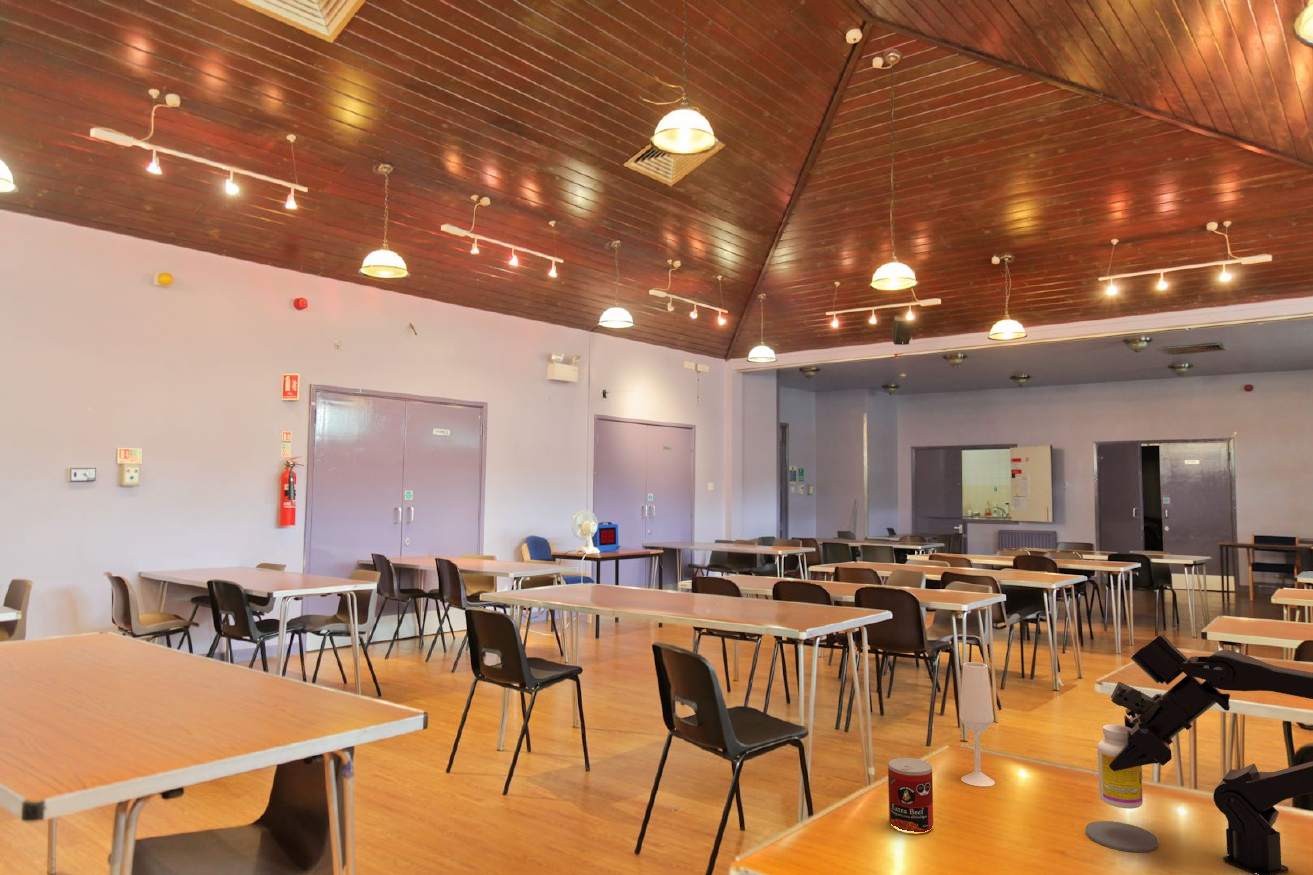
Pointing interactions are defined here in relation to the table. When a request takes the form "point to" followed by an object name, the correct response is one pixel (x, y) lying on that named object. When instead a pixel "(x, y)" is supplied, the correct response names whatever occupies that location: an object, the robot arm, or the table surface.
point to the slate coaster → (1121, 836)
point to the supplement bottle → (1120, 784)
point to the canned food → (910, 794)
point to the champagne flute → (976, 714)
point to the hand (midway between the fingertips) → (1110, 762)
